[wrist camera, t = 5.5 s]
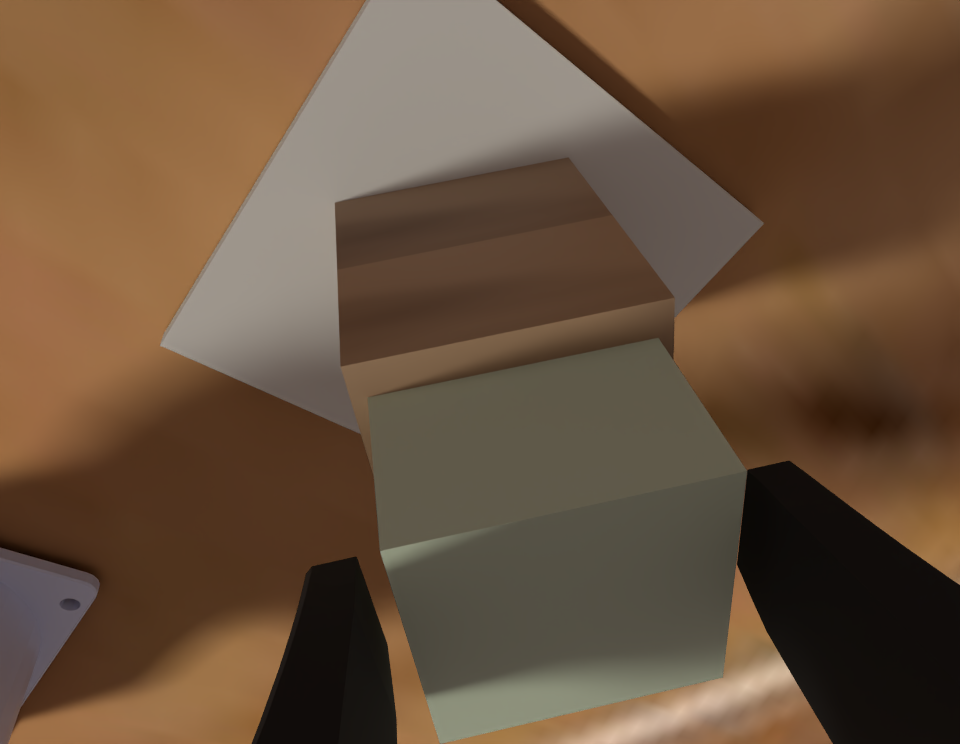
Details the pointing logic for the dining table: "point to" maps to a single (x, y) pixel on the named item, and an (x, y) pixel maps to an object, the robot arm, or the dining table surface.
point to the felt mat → (429, 182)
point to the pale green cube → (557, 535)
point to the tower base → (463, 212)
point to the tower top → (495, 308)
